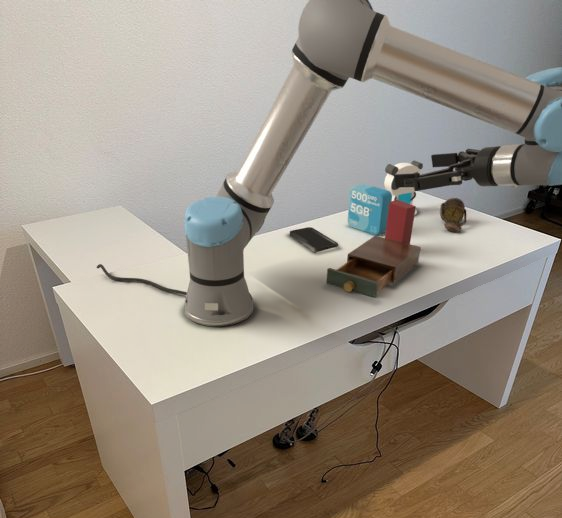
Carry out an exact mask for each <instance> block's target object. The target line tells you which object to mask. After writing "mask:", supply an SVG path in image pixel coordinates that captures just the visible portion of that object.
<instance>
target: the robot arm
mask: <svg viewBox="0 0 562 518" xmlns="http://www.w3.org/2000/svg"><path fill="white" fill-rule="evenodd" d="M290 52H291V57H292V62H293V63H292V64H293V65H292V67H291V69H290V70H289V73H288V75H287V77H286V78H285V80H284V81H283V84H282V86H281V88H280V89H279V91H278V93H277V95H276V97H275V98H274V101H273V103H272V105H271V107H270V109H269V110H268V112H267V114H266V116H265V118H264V120H263V122H262V124H261V125H260V127H259V130H258V131H257V133H256V135H255V137H254V139H253V140H252V142H251V145H250V147H249V148H248V151H247V152H246V154H245V156H244V157H243V160H242V162H241V163H240V165H239V167H238V169H237V171H233V172H232V171H231V172H229V173H227V174H226V176H225V179H224V181H223V183H222V184H221V187H220V188H219V190H218V192H217V194H216V195H215V196H210V197H204V198H203V199H202V200H201V199H199V200H196V201H194V202H192V203H191V204H190V205H189V206H188V207H187V209H186V210H185V213H184V224H183V225H184V226H183V230H184V234H185V243H186V253H187V261H188V271H189V282H188V286H187V291H184V290H178V289H173V288H169V287H165V286H163V285H160V284H158V283H156V282H153V281H151V280H149V279H144V278H139V277H120V276H115V275H112V274H110V273H109V271H107V269H106V267H105V266H104V265H103V264H102V263H99V264H98V265H96V269H100V268H101V271H102V272H103V273H104V274H105V275H106V277H108V278H109V279H111V280H114V281H120V282H123V281H124V282H138V283H144V284H148V285H151V286H152V287H155V288H157V289H160V290H162V291H165V292H170V293H174V294H179V295H183V296H185V299H184V313H185V316H186V317H187V318H188V319H189V320H190V321H192V322H193V323H196V324H199V325H202V326H207V327H227V326H232V325H236V324H238V323H241V322H243V321H246V320H247V319H249V317H251V316H252V314H253V312H254V299H253V297H252V294H251V292H250V290H249V287H248V283H247V280H246V278H245V261H244V259H245V258H244V250H245V249H246V247H247V245H248V244H249V243H250V242H251V240H252V239H253V238H254V237H255V235H256V234H257V233H258V232H259V231H260V230H261V229H262V228H263V226H264V224H265V220H266V218H267V215H268V214H269V212H270V211H271V209H272V207H273V205H274V203H275V199H274V196H273V192H274V191H275V188H276V187H277V185H278V183H279V181H280V180H281V178H282V177H283V174H284V173H285V171H286V170H287V168H288V166H289V165H290V163H291V161H292V160H293V158H294V156H295V154H296V153H297V152H298V149H299V147H300V146H301V144H302V142H303V141H304V139H305V137H306V135H307V134H308V132H309V130H310V129H311V127H312V126H313V124H314V122H315V120H316V118H317V117H318V116H319V114H320V112H321V110H322V108H323V106H324V105H325V103H326V102H327V100H328V98H329V97H330V94H331V93H332V92H333V91H336V90H340V89H343V88H344V87H345V85H346V84H347V82H348V80H349V79H353V80H356V81H358V82H361V83H365V82H367V81H369V80H372V79H373V80H375V81H378V82H380V83H383V84H386V85H388V86H391V87H394V88H396V89H399V90H401V91H404V92H407V93H410V94H412V95H414V96H418V97H420V98H423V99H425V100H427V101H429V102H433V103H435V104H438V105H441V106H443V107H446V108H448V109H450V110H451V109H452V110H453V111H457V112H458V113H462V114H464V115H467V116H469V117H472V118H474V119H478V120H480V121H482V122H485V123H487V124H489V125H490V124H491V125H493V126H495V127H498V128H501V129H504V130H506V131H509V132H511V133H514V134H516V135H517V136H521V137H523V138H524V143H521V144H519V143H518V144H506V145H501V146H500V145H499V146H498V145H497V146H486V147H483V148H481V149H474V148H466V149H465V151H459V152H450V153H437V154H436V153H435V154H432V155H430V158H431V166H432V168H442V169H439V170H433V171H430V172H426V173H422V174H421V172H420V173H418V172H416V173H413V174H396V175H394V180H395V186H396V188H399V187H414V190H415V191H414V192H420V191H425V190H431V189H438V188H443V187H449V186H461V185H462V184H463V181H464V182H467V181H471V180H474V181H475V183H476V184H477V185H478V186H480V187H498V186H500V187H508V186H510V187H511V186H512V188H513V189H516V188H518V187H519V186H548V187H549V186H550V187H552V186H561V185H562V67H561V66H560V67H551V68H548V69H544V70H541V71H537V72H534V73H532V74H530V75H528V76H525V77H523V76H521V75H518V74H517V73H516V74H515V73H513V72H511V71H508V70H505V69H503V68H500V67H498V66H495V65H492V64H489V63H487V62H485V61H482V60H480V59H478V58H474V57H472V56H469V55H467V54H464V53H462V52H459V51H457V50H454V49H451V48H449V47H446V46H444V45H441V44H438V43H436V42H433V41H430V40H428V39H426V38H423V37H420V36H418V35H415V34H412V33H410V32H408V31H405V30H402V29H400V28H397V27H394V26H392V25H391V23H390V21H389V18H388V16H387V15H385V14H383V13H381V12H377V11H375V9H374V8H373V5H372V3H371V2H370V1H369V0H308V1H307V3H306V4H305V6H304V8H303V9H302V11H301V13H300V17H299V21H298V37H297V39H296V41H295V43H294V45H293V46H292V49H291V51H290ZM445 167H447V168H445Z"/></svg>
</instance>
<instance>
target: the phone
mask: <svg viewBox="0 0 562 518" xmlns="http://www.w3.org/2000/svg"><path fill="white" fill-rule="evenodd" d="M289 237H290V238H292V239H294V240H295V241H297V242H298V243H299V244H301V245H303V246H304V247H306V248H307V249H309V250H310V251H312V252H313V253H315V254H316V253H320V252H324V251H327V250H330V249H334V248H337V247H338V246H339V243H338V242H337V241H335V240H333V239H332V238H330V237H328V236H327V235H325V234H324V233H322V232H321V231H319V230H317V229H315V228H314V227H312V226H311V227H310V226H308V227H307V226H306V227H303V228H296V229H292V230H290V231H289Z"/></svg>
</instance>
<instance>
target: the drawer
mask: <svg viewBox="0 0 562 518" xmlns="http://www.w3.org/2000/svg"><path fill="white" fill-rule="evenodd" d="M393 270H394V268H390V267H387V266H383V265H379V264H376V263H372V262H368V261H365V260H361V259H357V258H352V259H351V260H350V261H348V262H347V261H346V262H345V263H344V264H341V266H340V267H337V268H336V269H335V268H332V267H328V268H327V269H326V284H327V285H331V286H334V287H336V288H341V289H343V290H344V291H345V292H347V293H351V292H354V293H356V294H360V295H364V296H367V297H369V298H373V299H376V298H377V297H378V293H379V292H380V291H382V289H383V288H385V287H386V286H387V285H389V283H392V277H393Z"/></svg>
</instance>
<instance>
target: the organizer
mask: <svg viewBox="0 0 562 518" xmlns="http://www.w3.org/2000/svg"><path fill="white" fill-rule="evenodd" d="M421 249H422V248H421V246H418V245H415V244H411V243H410V244H407V243H403V242H399V241H395V240H390V239H386V238H385V237H382V236H378V235H374V236H372V237H371V238H370V239H368V240H367V241H364V242H363V243H362V244H361V245H359V246H358V247H356V248H355V249H353V250H352V251H350V252H349V253H347V259H346V263H347V262H348V261H350V260H351V259H352V258H357V259H361V260H365V261H368V262H372V263H376V264H379V265H383V266H387V267H390V268H394V270H393V277H392V281H391V283H396V282H397V280H398V279H400V278H401V277H402V276H403V275H404V274H406V273H407V272H408V271H409V270H410V269H412V268H413V267H414V266H416V265H417V264H418V263H419V260H420V254H421Z"/></svg>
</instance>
